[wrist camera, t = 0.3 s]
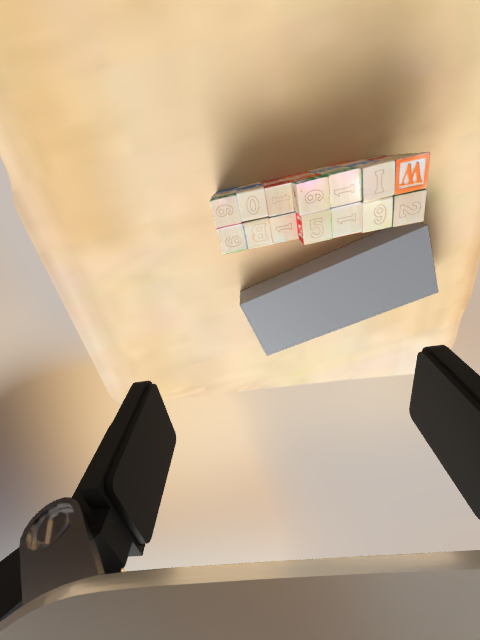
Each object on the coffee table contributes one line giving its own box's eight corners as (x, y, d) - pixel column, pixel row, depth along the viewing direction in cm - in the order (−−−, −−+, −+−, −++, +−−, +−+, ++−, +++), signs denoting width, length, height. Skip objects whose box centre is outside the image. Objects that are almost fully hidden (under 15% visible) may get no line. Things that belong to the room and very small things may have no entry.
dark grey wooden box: (240, 291, 46) (239, 305, 41) (407, 218, 40) (427, 225, 35) (265, 339, 50) (266, 355, 46) (419, 279, 44) (438, 292, 40)
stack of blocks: (226, 237, 42) (219, 263, 31) (215, 191, 39) (203, 202, 28) (376, 205, 39) (426, 222, 29) (377, 154, 36) (433, 151, 26)
